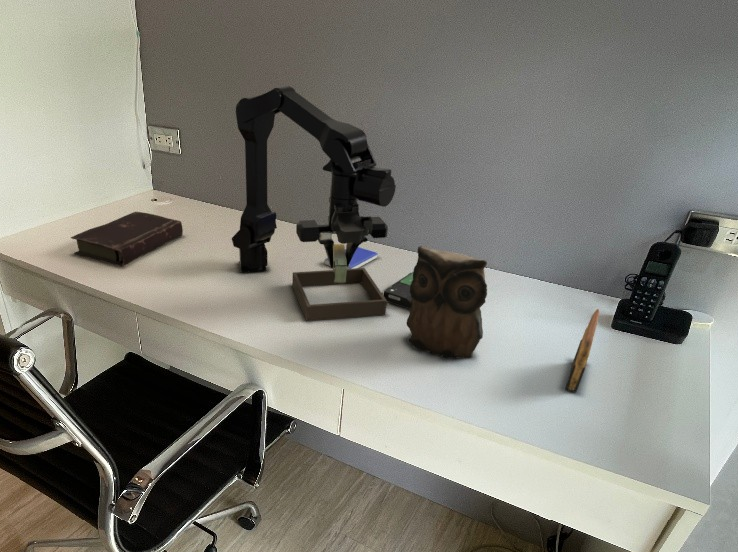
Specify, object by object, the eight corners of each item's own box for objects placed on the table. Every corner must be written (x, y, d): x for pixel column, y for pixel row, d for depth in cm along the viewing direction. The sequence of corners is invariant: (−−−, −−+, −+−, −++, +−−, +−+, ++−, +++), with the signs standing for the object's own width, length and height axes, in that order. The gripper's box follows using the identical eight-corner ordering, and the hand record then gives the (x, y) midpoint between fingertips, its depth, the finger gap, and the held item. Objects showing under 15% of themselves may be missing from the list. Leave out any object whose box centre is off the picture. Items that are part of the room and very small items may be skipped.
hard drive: (350, 267, 142) (377, 252, 149) (324, 258, 146) (352, 244, 154) (350, 272, 143) (377, 258, 150) (324, 264, 147) (351, 250, 155)
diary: (184, 237, 163) (182, 220, 160) (124, 268, 145) (121, 249, 142) (134, 226, 170) (132, 209, 168) (72, 254, 153) (68, 236, 150)
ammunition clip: (573, 361, 109) (593, 305, 102) (583, 364, 108) (604, 308, 101) (564, 389, 101) (585, 331, 95) (576, 392, 101) (598, 334, 94)
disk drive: (423, 315, 125) (452, 290, 134) (425, 303, 123) (454, 280, 132) (381, 301, 130) (412, 279, 139) (383, 290, 128) (413, 268, 138)
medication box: (346, 283, 121) (347, 266, 119) (333, 283, 121) (334, 266, 119) (343, 259, 131) (344, 243, 129) (331, 259, 131) (332, 243, 129)
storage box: (306, 321, 122) (307, 306, 120) (292, 285, 137) (292, 272, 135) (385, 315, 124) (387, 300, 122) (363, 281, 139) (364, 267, 137)
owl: (479, 360, 109) (503, 263, 98) (415, 364, 108) (431, 266, 97) (456, 328, 120) (475, 236, 108) (397, 331, 119) (410, 239, 107)
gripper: (307, 210, 109) (304, 285, 118) (400, 206, 111) (390, 279, 120) (296, 193, 118) (294, 263, 127) (383, 189, 120) (375, 258, 129)
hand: (338, 266), depth 126 cm, fingers closed on medication box, 3 cm apart
